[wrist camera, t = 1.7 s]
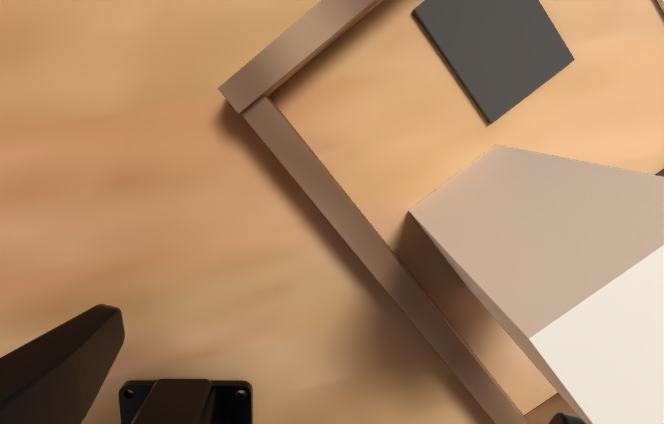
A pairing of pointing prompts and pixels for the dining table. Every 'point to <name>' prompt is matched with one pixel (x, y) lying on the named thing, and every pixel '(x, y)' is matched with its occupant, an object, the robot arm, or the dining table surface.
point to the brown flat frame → (486, 90)
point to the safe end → (661, 4)
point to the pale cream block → (564, 271)
